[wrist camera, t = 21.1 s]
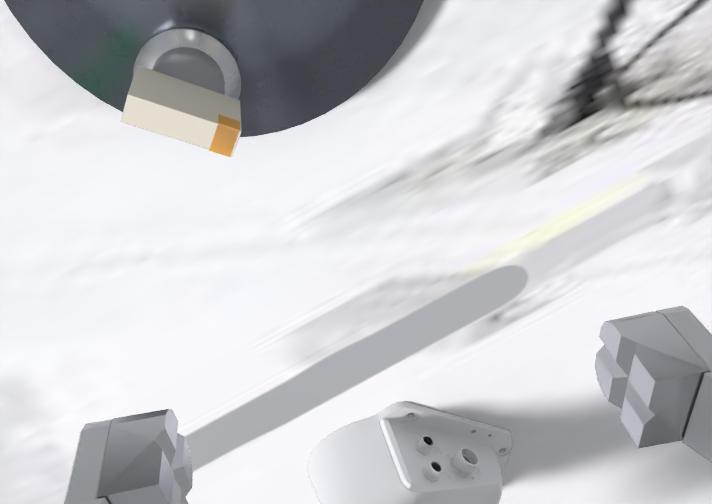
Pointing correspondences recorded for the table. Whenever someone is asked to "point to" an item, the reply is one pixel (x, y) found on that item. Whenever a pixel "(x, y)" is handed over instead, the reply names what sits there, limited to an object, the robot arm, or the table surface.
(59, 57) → the tribrach disc
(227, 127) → the cream block orange corner
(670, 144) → the table surface
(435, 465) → the robot arm
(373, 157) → the table surface
